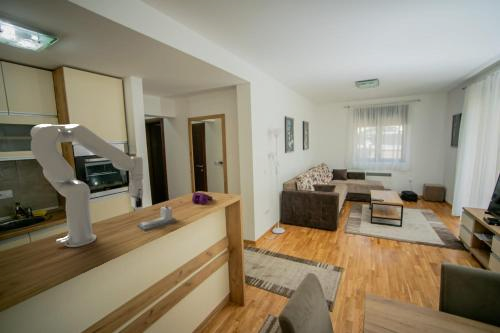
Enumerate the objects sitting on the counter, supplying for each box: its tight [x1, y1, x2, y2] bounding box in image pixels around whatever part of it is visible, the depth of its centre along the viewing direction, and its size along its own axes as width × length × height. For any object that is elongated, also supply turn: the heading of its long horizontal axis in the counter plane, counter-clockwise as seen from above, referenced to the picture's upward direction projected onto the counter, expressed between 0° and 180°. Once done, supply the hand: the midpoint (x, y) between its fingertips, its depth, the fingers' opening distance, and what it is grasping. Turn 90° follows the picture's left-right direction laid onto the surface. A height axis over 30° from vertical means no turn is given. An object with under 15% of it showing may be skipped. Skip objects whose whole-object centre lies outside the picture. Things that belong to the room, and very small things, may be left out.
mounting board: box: [136, 205, 177, 232], centre depth 134 cm, size 20×10×10 cm, turn 138°
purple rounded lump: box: [191, 191, 213, 206], centre depth 182 cm, size 9×8×18 cm
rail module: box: [130, 195, 143, 211], centre depth 134 cm, size 4×6×7 cm
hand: (136, 205), depth 134 cm, fingers closed on rail module, 6 cm apart
